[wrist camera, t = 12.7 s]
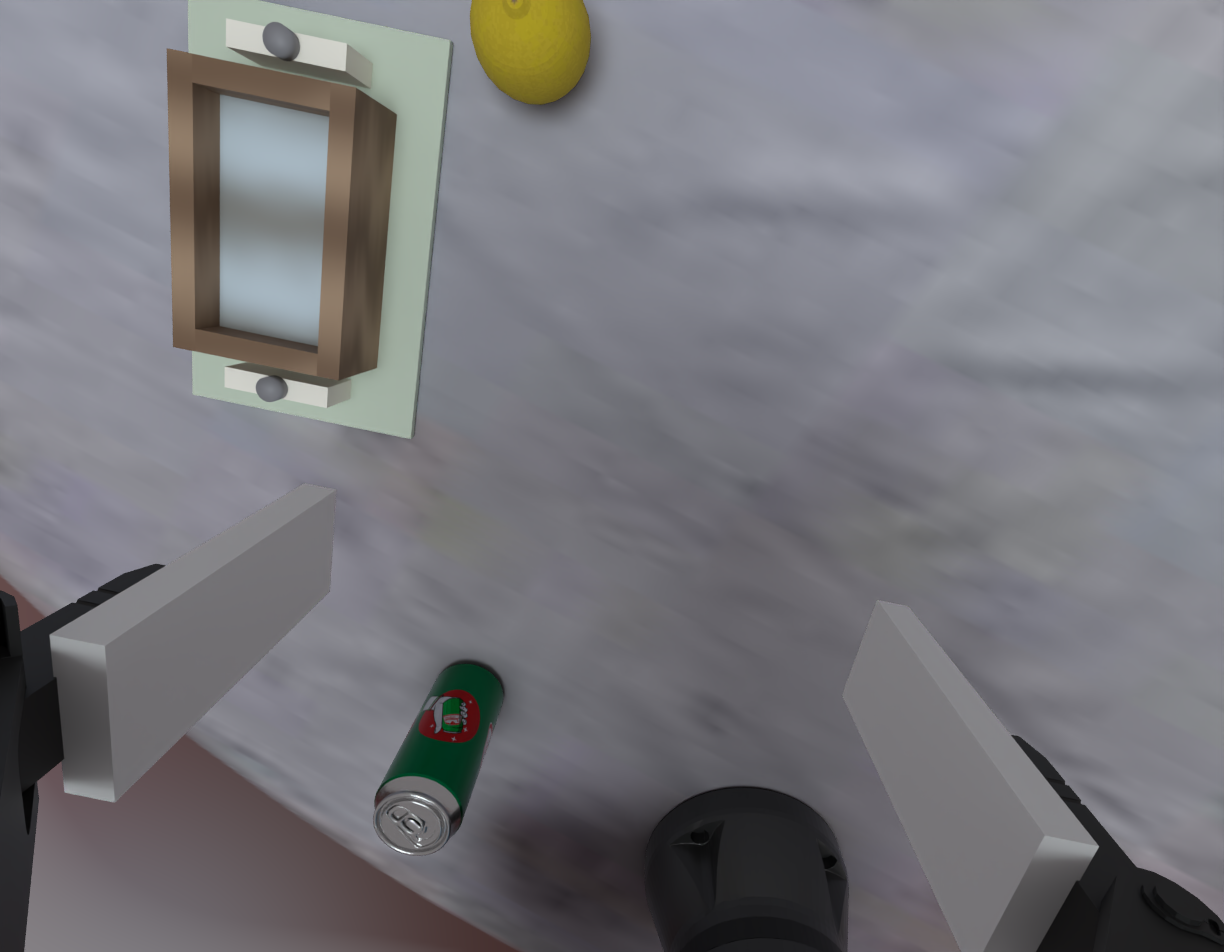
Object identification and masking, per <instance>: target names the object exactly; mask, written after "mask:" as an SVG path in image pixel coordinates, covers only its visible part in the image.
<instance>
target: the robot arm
mask: <svg viewBox="0 0 1224 952" xmlns="http://www.w3.org/2000/svg"><path fill="white" fill-rule="evenodd" d="M335 503H336V490H335V489H330V488H325V487H320V486H315V485H311V484H306V483H304V484H303V485H301V486H299V487H298V488H296V489H294V490H292V491H291V492H289V493H287V494H286V495H284V496H282V497H281V498H279V499H277V500H276V501H274V502H272V503H271V504H269V505H267V506H266V507H264V508H262V509H260V510H259V511H257V512H255V513H254V514H252V515H250V516H249V517H247V518H245V519H244V520H242V521H240V522H239V523H237V524H235V525H234V526H232V527H230V528H228V529H227V530H225V531H223V532H222V533H220V534H218V535H217V536H215V537H213V538H212V539H210V540H208V541H207V542H205V543H203V544H202V545H200V546H198V547H196V548H195V549H193V550H191V551H190V552H188V553H186V554H185V555H183V556H181V557H180V558H178V559H176V560H175V561H173V562H171V563H170V564H168V565H166V566H165V565H160V564H153V565H150V566H147V567H144V568H140V569H137V570H134V571H131V572H128V573H124V574H122V575H120V576H119V577H117V578H115V579H113V580H112V581H110V582H108V583H106V584H104V585H103V586H101V587H99V588H98V591H92V592H90V593H88V594H87V595H85V596H83V597H81V598H79V599H78V600H77V602H76V603H71V604H69V605H67V606H65V607H63V608H62V609H60V610H58V611H56V612H55V613H53V614H51V615H49V616H47V617H46V618H44V619H42V620H40V621H39V622H37V623H35V624H33V625H31V626H30V627H28V628H26V629H24V630H22V631H21V632H20V626H19V616H18V608H17V603H16V601H15V598H14V596H12V595H9V594H7V593H5V592H3V591H0V952H24V947H25V935H26V925H27V916H28V904H29V895H30V885H31V875H32V863H33V854H34V843H35V834H36V823H37V813H38V803H39V795H38V787H37V781H38V780H39V779H40V778H41V777H43V776H44V775H45V774H46V773H48V772H49V771H50V770H51V769H52V768H54V767H55V766H56V765H57V764H58V763H60V762H61V761H62V771H63V780H64V792H65V793H71V794H75V795H80V796H85V797H90V798H95V799H100V800H105V801H110V802H116V801H117V800H118V799H119V798H120V797H121V796H122V795H123V794H124V793H125V792H126V791H127V790H128V789H129V788H130V787H131V786H132V785H133V784H134V783H135V782H136V781H137V780H138V779H139V778H140V777H141V776H142V775H143V774H144V773H146V772H147V771H148V769H150V768H151V767H152V766H153V765H154V764H155V763H156V761H158V760H159V759H160V758H161V757H162V756H163V755H164V754H165V753H166V752H167V751H168V750H169V749H170V748H171V747H172V746H173V745H174V744H175V743H176V742H177V741H178V740H179V739H180V738H181V737H182V736H183V735H184V734H185V733H186V732H187V731H188V730H189V729H190V728H191V727H192V726H193V725H194V724H195V723H197V722H198V721H199V720H200V719H201V718H202V717H203V716H204V715H205V714H206V713H207V712H208V711H209V710H210V709H211V708H212V707H213V706H214V705H215V704H216V703H217V702H218V701H219V700H220V699H221V698H222V697H223V696H224V695H225V694H226V693H227V692H228V691H229V690H230V689H231V688H232V687H233V686H234V685H235V684H236V683H237V682H238V681H239V680H240V679H241V678H242V677H243V676H244V675H245V674H246V673H247V672H249V671H250V670H251V669H252V668H253V667H254V666H255V665H256V664H257V663H258V662H259V661H260V660H261V659H262V658H263V657H264V656H265V655H266V654H267V653H268V652H269V651H270V650H271V649H272V648H273V647H274V646H275V645H276V644H277V643H278V642H279V641H280V640H281V639H282V638H283V637H284V636H285V635H286V634H287V633H288V632H289V631H290V630H291V629H292V628H293V627H294V626H295V625H296V624H297V623H298V622H299V621H300V620H302V619H303V618H304V617H305V616H306V615H307V614H308V613H309V612H310V611H311V610H312V609H313V608H314V607H315V606H316V605H317V604H318V603H319V602H320V601H321V600H322V599H323V598H324V597H325V596H326V595H327V594H328V593H329V592H330V583H331V567H332V551H333V535H334V519H335ZM842 697H843V699H844V701H845V703H846V705H847V708H848V710H849V712H850V714H851V716H852V718H853V721H854V723H855V725H856V727H857V729H858V731H859V733H860V736H861V738H862V740H863V742H864V744H865V746H866V749H867V751H868V753H869V755H870V757H871V759H872V761H873V764H874V766H875V768H876V770H877V772H878V774H879V777H880V779H881V781H882V783H883V785H884V787H885V789H886V792H887V794H888V796H889V798H890V800H891V802H892V804H893V807H894V809H895V811H896V813H897V815H898V817H899V820H900V822H901V824H902V826H903V828H904V830H905V832H906V835H907V837H908V839H909V841H910V843H911V845H912V848H913V850H914V852H915V854H916V856H917V858H918V860H919V863H920V865H921V867H922V869H923V871H924V873H925V876H926V878H927V880H928V882H929V884H930V886H931V888H932V891H933V893H934V895H935V897H936V899H937V901H938V904H939V906H940V908H941V910H942V912H943V914H944V916H945V919H946V921H947V923H948V925H949V927H950V929H951V932H952V934H953V936H954V938H955V940H956V942H957V944H958V947H959V949H960V951H961V952H1224V923H1223V922H1222V921H1221V919H1220V918H1219V917H1218V916H1217V915H1216V914H1215V913H1214V912H1213V911H1212V910H1210V909H1209V908H1208V907H1207V906H1206V905H1205V904H1204V903H1203V902H1202V901H1200V900H1199V899H1198V898H1197V897H1195V896H1194V895H1192V894H1191V893H1190V892H1188V891H1187V890H1185V889H1184V888H1182V887H1181V886H1179V885H1178V884H1176V883H1175V882H1173V881H1171V880H1169V879H1167V878H1165V877H1163V876H1161V875H1159V874H1157V873H1155V872H1152V871H1148V870H1145V869H1141V868H1138V867H1136V866H1135V865H1134V864H1133V862H1132V861H1131V860H1130V859H1129V858H1128V856H1127V855H1126V854H1125V853H1124V852H1123V850H1122V849H1121V848H1120V847H1119V846H1118V844H1117V843H1116V842H1115V841H1114V840H1113V838H1112V837H1111V836H1110V835H1109V834H1108V832H1107V831H1106V830H1105V829H1104V828H1103V826H1102V825H1101V824H1100V823H1099V822H1098V820H1097V819H1096V818H1095V817H1094V815H1093V814H1092V813H1091V812H1090V811H1089V809H1088V808H1087V807H1086V806H1085V805H1082V804H1081V800H1080V799H1079V797H1078V796H1077V795H1076V794H1075V793H1074V791H1073V790H1072V789H1071V788H1070V787H1069V786H1067V785H1065V781H1064V779H1063V778H1062V777H1061V776H1060V775H1059V773H1058V772H1057V771H1056V770H1055V768H1054V767H1053V766H1052V765H1051V764H1050V762H1049V761H1048V760H1047V759H1046V758H1045V757H1044V756H1043V755H1041V754H1040V753H1039V752H1038V751H1036V750H1035V749H1034V748H1033V747H1031V746H1030V745H1029V744H1028V743H1027V742H1025V741H1024V740H1023V739H1022V738H1020V737H1019V736H1014V735H1010V734H1009V732H1008V731H1007V730H1006V729H1005V727H1004V726H1003V725H1002V723H1001V722H1000V721H999V720H998V718H997V717H996V716H995V715H994V713H993V712H992V711H991V710H990V708H989V707H988V706H987V705H986V703H985V702H984V701H983V700H982V698H981V697H980V696H979V695H978V693H977V692H976V691H975V689H974V688H973V687H972V686H971V684H970V683H969V682H968V681H967V679H966V678H965V677H964V676H963V674H962V673H961V672H960V671H959V669H958V668H957V667H956V666H955V664H954V663H953V662H952V661H951V659H950V658H949V657H948V656H947V654H946V653H945V652H944V650H943V649H942V648H941V647H940V645H939V644H938V643H937V642H936V640H935V639H934V638H933V637H932V635H931V634H930V633H929V632H928V630H927V629H926V628H925V627H924V625H923V624H922V623H921V622H920V620H919V619H918V618H917V616H916V615H915V614H914V613H913V611H912V610H911V609H910V608H909V606H905V605H900V604H895V603H890V602H885V601H880V600H877V601H876V604H875V606H874V609H873V612H872V615H871V617H870V620H869V623H868V625H867V628H866V631H865V634H864V636H863V639H862V642H861V644H860V647H859V650H858V653H857V655H856V658H855V661H854V663H853V666H852V669H851V672H850V674H849V677H848V680H847V682H846V685H845V688H844V691H843V693H842ZM645 891H646V897H647V902H648V906H649V909H650V912H651V915H652V918H653V921H654V924H655V927H656V930H657V932H658V935H659V938H660V941H661V944H662V947H663V950H664V952H847V945H848V898H849V885H848V877H847V871H846V867H845V864H844V861H843V858H842V855H841V852H840V849H839V846H838V843H837V841H836V838H835V836H834V834H833V833H832V831H831V829H830V828H829V826H828V825H827V824H826V823H825V821H824V820H823V819H822V818H821V817H820V816H819V815H818V814H816V813H815V812H814V811H813V810H812V809H810V808H809V807H807V806H806V805H804V804H803V803H801V802H799V801H797V800H795V799H793V798H791V797H788V796H785V795H783V794H780V793H776V792H772V791H768V790H762V789H754V788H732V789H723V790H718V791H713V792H709V793H706V794H703V795H700V796H697V797H695V798H693V799H691V800H688V801H687V802H685V803H683V804H681V805H680V806H678V807H677V808H675V809H674V810H673V811H671V812H670V813H669V814H668V815H667V816H666V817H665V818H664V819H663V820H662V821H661V822H660V823H659V825H658V826H657V827H656V829H655V830H654V832H653V834H652V836H651V838H650V840H649V843H648V846H647V849H646V855H645Z"/></svg>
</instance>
